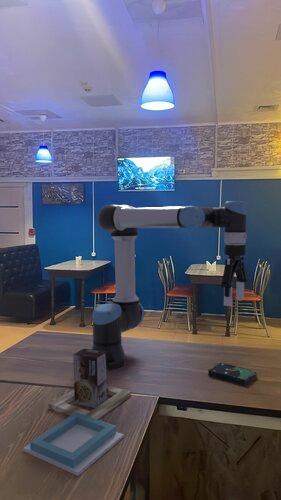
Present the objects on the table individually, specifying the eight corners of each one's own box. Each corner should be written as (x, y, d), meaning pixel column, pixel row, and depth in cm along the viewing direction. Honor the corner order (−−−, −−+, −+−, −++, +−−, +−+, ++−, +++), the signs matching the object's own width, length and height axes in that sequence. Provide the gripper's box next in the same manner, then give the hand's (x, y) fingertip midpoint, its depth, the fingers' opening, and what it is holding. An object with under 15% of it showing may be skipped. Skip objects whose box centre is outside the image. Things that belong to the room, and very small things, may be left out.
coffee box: (108, 400, 120) (108, 351, 119) (98, 409, 114) (97, 357, 113) (84, 395, 124) (83, 347, 123) (73, 403, 118) (72, 353, 117)
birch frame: (48, 408, 115) (48, 403, 115) (90, 384, 132) (90, 380, 132) (92, 423, 106) (91, 418, 106) (130, 396, 123) (130, 391, 123)
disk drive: (207, 377, 139) (245, 387, 130) (207, 370, 139) (245, 379, 130) (220, 369, 147) (257, 377, 138) (220, 362, 147) (257, 370, 138)
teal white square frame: (23, 450, 93) (23, 440, 93) (72, 419, 108) (72, 409, 108) (78, 476, 84) (78, 464, 84) (123, 437, 99) (123, 427, 99)
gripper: (233, 246, 122) (232, 310, 124) (255, 243, 143) (254, 297, 145) (212, 245, 126) (211, 307, 128) (236, 242, 147) (235, 295, 149)
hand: (234, 302), depth 136 cm, fingers open, 13 cm apart
